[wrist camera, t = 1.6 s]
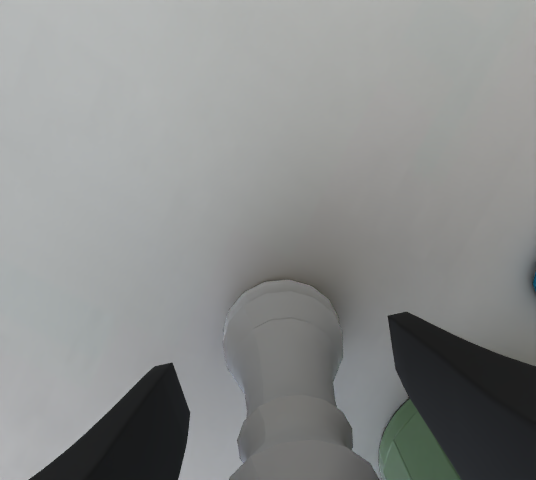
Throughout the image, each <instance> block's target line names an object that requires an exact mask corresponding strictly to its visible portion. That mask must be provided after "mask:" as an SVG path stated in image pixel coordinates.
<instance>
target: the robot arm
mask: <svg viewBox="0 0 536 480" xmlns="http://www.w3.org/2000/svg"><path fill="white" fill-rule="evenodd" d="M388 321H389V328H390V335H391V342H392V348H393V355H394V362H395V369H396V371H397V373H398V375H399V377H400V380H401V382H402V384H403V386H404V388H405V390H406V392H407V394H408V396H409V398H410V399H411V401H412V403H413V404H414V406H415V407H416V409H417V410H418V412H419V414H420V415H421V417H422V418H423V420H424V421H425V423H426V424H427V426H428V428H429V429H430V431H431V432H432V434H433V435H434V437H435V438H436V440H437V441H438V443H439V445H440V446H441V448H442V449H443V451H444V452H445V454H446V455H447V457H448V458H449V460H450V462H451V463H452V465H453V466H454V468H455V470H456V472H457V473H458V475H459V477H460V478H461V480H536V366H532V365H529V364H526V363H523V362H520V361H517V360H514V359H511V358H508V357H506V356H503V355H500V354H497V353H495V352H492V351H490V350H487V349H485V348H483V347H480V346H478V345H475V344H473V343H471V342H468V341H466V340H464V339H462V338H459V337H457V336H455V335H453V334H451V333H449V332H447V331H445V330H443V329H441V328H439V327H437V326H435V325H433V324H431V323H429V322H427V321H425V320H423V319H421V318H419V317H417V316H415V315H413V314H410V313H408V312H403V313H398V314H394V315H389V316H388ZM189 418H190V411H189V408H188V406H187V403H186V400H185V397H184V394H183V391H182V388H181V386H180V383H179V380H178V377H177V374H176V371H175V369H174V366H173V363H168V364H164V365H159V366H155V367H154V368H152V369H151V370H150V371H149V372H148V373H147V374H146V375H145V376H144V377H143V378H142V379H141V380H140V381H139V382H138V383H137V384H136V385H135V386H134V387H133V388H132V389H131V390H130V391H129V392H128V393H127V394H126V395H125V396H124V397H123V398H122V399H121V400H120V401H119V402H118V403H117V404H116V405H115V406H114V407H113V408H112V409H111V410H110V411H109V412H108V413H107V414H106V415H105V416H104V417H103V418H102V419H100V420H99V421H98V422H97V423H96V424H95V425H94V426H93V427H92V428H91V429H90V430H89V431H88V432H87V433H86V434H85V435H83V436H82V437H81V438H80V439H79V440H78V441H77V442H76V443H74V444H73V445H72V446H71V447H70V448H69V449H67V450H66V451H65V452H64V453H63V454H61V455H60V456H59V457H58V458H56V459H55V460H54V461H53V462H51V463H50V464H49V465H48V466H46V467H45V468H44V469H43V470H41V471H40V472H39V473H37V474H36V475H34V476H33V477H32V478H30V479H29V480H178V478H179V474H180V470H181V465H182V461H183V457H184V453H185V448H186V444H187V436H188V428H189Z"/></svg>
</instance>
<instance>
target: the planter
mask: <svg viewBox="0 0 536 480" xmlns="http://www.w3.org/2000/svg"><path fill="white" fill-rule="evenodd" d="M378 460H379V470H380V473H381V477H382V480H461V478H460V477H459V475H458V473H457V472H456V470H455V468H454V466H453V465H452V463H451V462H450V460H449V458H448V457H447V455H446V454H445V452H444V451H443V449H442V448H441V446H440V445H439V443H438V441H437V440H436V438H435V437H434V435H433V434H432V432H431V431H430V429H429V428H428V426H427V424H426V423H425V421H424V420H423V418H422V417H421V415H420V414H419V412H418V410H417V409H416V407H415V406H414V404H413V403H412V401H411V399H408V400H407V401H406V402H405V403H404V404H403V405H402V406H401V407H400V408H399V409H398V411H397V412H396V413H395V415H394V416H393V417H392V419H391V420H390V422H389V424H388V425H387V427H386V429H385V431H384V434H383V436H382V439H381V443H380V448H379V459H378Z"/></svg>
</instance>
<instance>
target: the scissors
mask: <svg viewBox="0 0 536 480" xmlns="http://www.w3.org/2000/svg"><path fill="white" fill-rule="evenodd" d="M533 285H534V288H535V291H536V272H535V276H534V280H533Z"/></svg>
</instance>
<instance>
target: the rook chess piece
mask: <svg viewBox="0 0 536 480" xmlns="http://www.w3.org/2000/svg"><path fill="white" fill-rule="evenodd" d="M223 332H224V340H223V348H224V354H225V361H226V365H227V368H228V370H229V372H230V373H231V375H232V376H233V378H234V379H235V381H236V382H237V384H238V385H239V386H240V388H241V389H242V391H243V392H244V394H245V399H246V406H247V419H246V420H245V421H244V422H243V425H242V428H241V431H240V434H239V436H238V439H237V442H238V449H239V456H240V459H241V461H242V462H243V463H244V464H243V465H242V466H241V467H240V468H239V469H238V470H237V471H236V472H235V473H234V474H233V475H232V476H231V477H230V479H229V480H379V478H378V476H377V475H376V473H375V471H374V469H373V468H372V466H371V464H370V463H369V462H368V461H366V460H365V459H363V458H362V457H360V456H359V455H357V454H356V453H354V452H353V451H351V450H352V448H353V439H352V428H351V426H350V424H349V422H348V421H347V419H346V417H345V415H344V414H343V412H342V411H340V410H339V409H338V408H337V406H336V403H335V397H334V388H333V381H334V378H335V376H336V374H337V371H338V368H339V365H340V363H341V361H342V358H343V336H342V329H341V327H340V325H339V317H338V316H337V314H336V312H335V310H334V308H333V306H332V304H331V302H330V301H329V299H328V298H327V297H325V296H324V295H323V294H321V293H320V292H319V291H318V290H316V289H315V288H314V287H312V286H311V285H307V284H303V283H300V282H296V281H293V280H289V279H288V280H278V281H268V282H263V283H262V284H260V285H258V286H256V287H254V288H252V289H250V290H248V291H246V292H244V293H243V294H242V295H241V296H240V297H239V299H238V300H237V301H236V302H235V303H234V304H233V306H232V307H231V308H230V309H229V312H228V315H227V318H226V322H225V325H224V328H223Z"/></svg>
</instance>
